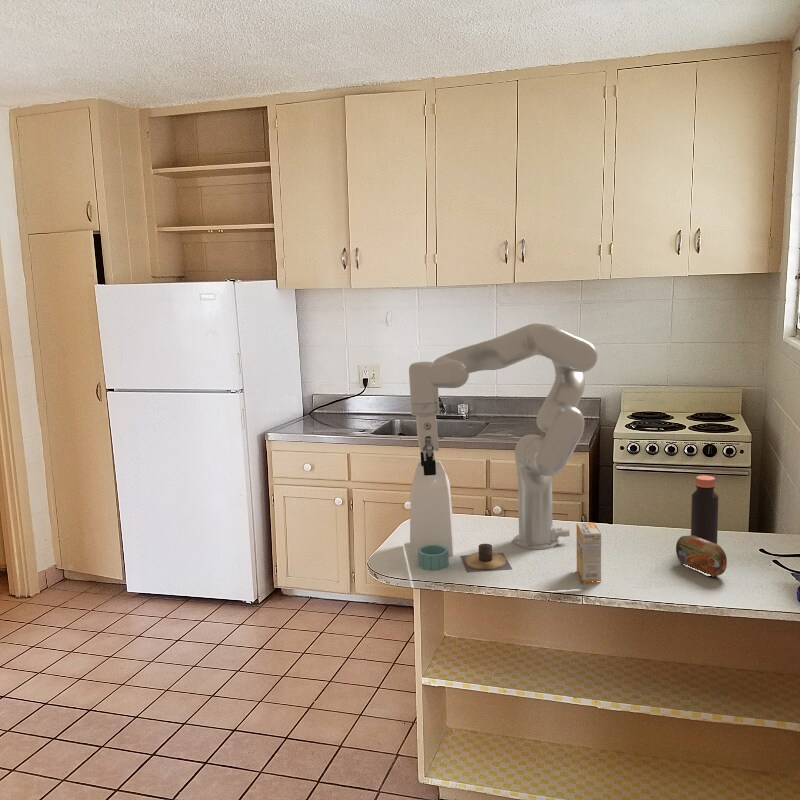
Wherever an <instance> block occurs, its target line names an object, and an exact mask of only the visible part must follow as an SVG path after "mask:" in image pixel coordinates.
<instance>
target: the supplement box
mask: <svg viewBox="0 0 800 800" xmlns="http://www.w3.org/2000/svg"><path fill="white" fill-rule="evenodd" d="M576 571H577V574H578V575H579V577H580V578H581V581H583V582H592V581H593V582H597V581H601V582H602V532H601V531H600V529H599V528H598V526H597V525H596V524H595V522H578V523H576ZM583 582H582V583H583Z"/></svg>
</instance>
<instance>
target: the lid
mask: <svg viewBox="0 0 800 800" xmlns="http://www.w3.org/2000/svg"><path fill="white" fill-rule="evenodd" d="M497 553H498V552H493V545H492V544H490V543H481V544H479V545H478V552H473V553H471V554H467V555H468V556H467V557H466V558H465V564H466V565H467V566H468V567H470V568H473V569H478V570H494V569H498V568H501V567H503V566H505V565H506V559H507V557H506V556H505V557H506V558H505V557H504V556H503V555H501V554H497Z"/></svg>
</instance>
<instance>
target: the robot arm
mask: <svg viewBox="0 0 800 800" xmlns="http://www.w3.org/2000/svg"><path fill="white" fill-rule="evenodd" d="M535 356H542V357H545V358H547V359H550V360H551V362H552V364H553V367H554V373H555V377H554V382H553V385H552V387H551V389H550V390H549V393H548V395H547V396H546V398H545V400H544V401H543V404H542V405H541V407H540V409H539V410H538V412H537V415H536V421H535V423H536V425H537V427H538V429H539V430H540V431H541V432H542V433H545V436H541V435H538V434H526V435H525V436H522V437H521V438H520V439H519V440H518V441H517V443H516V445H515V449H514V458H515V464H516V471H517V487H518V490H517V494H518V496H517V498H518V500H517V501H518V534H517V535H515V536H514V537H513V543H514V545H515V546H517V547H519V548H522V549H526V550H536V551H537V550H539V551H540V550H548V549H552V548H556V547H557V546H558V545H559V539H558V538H559V537H560V538H561V537H566V538H567V537H570V530H569V529H563V528H562V527H560V528H559V527H558V528H555V527H554V526H553V479H552V478H553V477H554V476H556V475H558V474H559V473H561V472H562V471H563V469H564V468H565V467H566V465H567V464H568V462H569V460H570V458H571V457H572V455H573V453H574V452H575V449H576V448H577V446H578V443H579V442H580V440H581V438H582V436H583V433H584V432H585V431H584V430H585V423H586V422H585V418H584V414H583V413H582V411H580V409H578V408H577V407H578V406H579V404H580V403H579V402H580V401H581V398H582V396H583V394H584V392H585V386H586V380H585V379H586V378H585V373H586V372H588V371H590V370H592V369H593V368H594V367H595V365H596V364H597V362H598V351H597V350H596V348H595V346H594V345H593V344H592V343H591V342H589V341H587V340H585V339H583V338H581V337H578V336H577V335H574V334H572V333H569V332H567V331H565V330H563V329H561V328H558V327H556V326H554V325H551V324H545V323H530V324H526V325H525V326H522V327H520V328H517V329H515V330H512V331H509V332H507V333H505V334H502V335H499V336H497V337H495V338H492V339H489V340H485V341H481V342H479V343H476V344H472V345H468V346H464V347H462V348H459V349H456V350H453V351H451V352H448V353H446V354H444V355H442V356H439V357H437V358H436V359H434V360H433V362H432V361H418V362H413V363H411V364H410V365H409V367H408V377H409V378H408V379H409V393H410V394H409V395H410V411H411V412H410V414H411V416H415V423H416V435H417V436H416V437H417V443H418V446H419V450H420V453H419V454H420V461H421V466H423V468H424V475H425V476H428V475H436V463H435V461H436V459H435V451H436V452H439V450H440V447H439V435H438V423H437V416H436V415H439V414H440V401H439V400H440V398H439V396H440V395H439V389H458V388H460V387H463V386H464V385H465V384H466V383H467V381H468V380H469V377H470V376H469V375H470V374H471V373H475V372H476V373H477V372H481V371H482V372H483V371H496V370H500V369H501V370H502V369H505V368H508V367H510V366H512V365H515V364H517V363H519V362H522V361H524V360H527V359H530V358H531V357H535Z"/></svg>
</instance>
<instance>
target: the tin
mask: <svg viewBox="0 0 800 800" xmlns="http://www.w3.org/2000/svg"><path fill="white" fill-rule="evenodd" d="M675 546H676V547H675V551H676V552H675V553H676V556H677V559H678V561H679V563H680V564H681V565H682V564H685V565H688V566H690V567H692V568H695V569H697V570H700V571H702V572H704V573H707V574H710V575H711V576H712V577H711V578H714V577H719V576H721V575H723V574H724V573H725V572H726V570H727V564H728V560H727V554H726V552H725V551H724V549H723V548H722V546H721V545H719V544H718V543H717V544H715V543H712V542H710V541H707V540H704V539H702V538H699V537H696V536H693V535H691V534H690V535H682V536H681V537H680V538H678V539H677V542H676V545H675Z"/></svg>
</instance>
